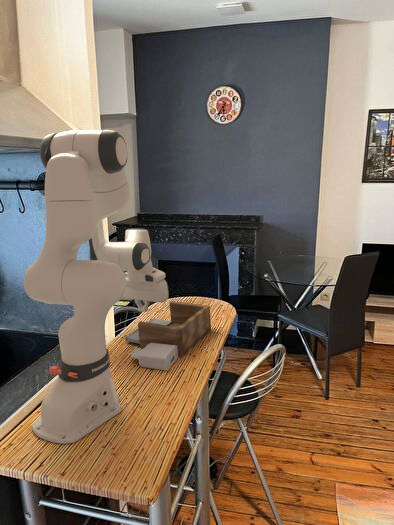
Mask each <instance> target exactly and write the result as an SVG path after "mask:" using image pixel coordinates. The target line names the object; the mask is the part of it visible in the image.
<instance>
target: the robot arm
mask: <svg viewBox="0 0 394 525" xmlns="http://www.w3.org/2000/svg"><path fill="white" fill-rule="evenodd" d="M39 157H40V161H41V163H42V165H43V167H44V168H45V179H44V205H45V237H44V243H43V246H42V248H41V251H40V253H39V255H38V256H37V258H36V259H35V261H34V262H33V263H31V264H30V265H29V266H28V267H27V269H26V270H25V273H24V277H23V289H24V291H25V294H26V295H27V296H28V297H29V298H30V299H32V300H34V301H36V302H37V301H38V302H41V303H43V304H49V305H64V306H66V305H68V306H69V305H70V306H72V307H73V316H72V317H70V318H68V319H66V320H65V321H64V322H63V323H62V324H61V326H60V328H59V330H58V334H57V335H58V340H59V341H58V342H59V347H60V348H59V349H60V354H61V358H60V362H59V366H55V365H52V366H50V368H49V371H48V372H49V374H50V375H54V376H58V377H57V378H56V379H55V381H54V383H53V384H52V386H51V387H50V389H49V391H48V393H46V394H45V395H46V396H45V397H44V398H43V400H42V402H41V405H40V416H39V417H38V418H37V419H36V420H35V421H34V422H33V423H32V425H31V429H32V432H33V434H34V435H36V436H37V437H38V438H41V439H43V440H45V441H48V442H50V443H51V442H52V443H55V444H56V443H57V444H65V445H66V444H73V443H76V442H79V440H81V439H82V438H84V437H85V436H86V435H88V434H90V433H91V432H93V431H94V430H96V429H97V428H99V427H100V426H101V425H103V424H104V423H106V422H107V421H109V420H111V419H112V418H113V417H115V416H116V415H117V414H119V413H120V412H122V406H121V403H120V396H119V393H118V392H117V389H116V387H115V383H114V379H113V376H112V373H111V372H112V371H111V369H110V366H111V358H110V357H111V356H110V353H109V349H107V342H106V320H107V316H108V314H109V311H110V310H111V308H112V307H114V306H115V305H116V304H117V303H119V301H120V300H121V299H128V300H129V299H131V300H134V303H135V304H136V306H137V308H138V310H137V311H138V312H142V313H143V312H144V313H146V312H148V310H149V308H148V307H149V305H150V303H151V302H154V303H164V302H166V301H167V300H168V298H169V286H168V282H167V281H166V279H165V278H166V272H164V271H162V270H159V269H157V267H156V268H155V267H154V266H153V263H152V259H151V256H152V247H151V240H150V235H149V234H150V233H149V230H148V229H146V228H143V227H142V228H137V227H136V228H135V227H134V228H133V227H132V228H127V229H126V230H125V234H124V235H125V236H124V241H109V240H106V239H105V232H104V231H105V230H104V224H103V220H104V219H106V218H108V217H110V216H113V215H115V214H117V213H119V212H120V211H122V209H124V208H125V207H126V205H127V204H128V202H129V200H130V198H131V197H130V196H131V190H130V185H129V180H128V177H127V174H126V171H125V167H126V165H127V162H128V147H127V143H126V140H125V139H124V137H123V136H122V135H121V134H120V133H119V132H118V131H116V130H112V129H103V130H97V129H96V130H93V129H92V130H91V129H86V130H85V129H84V130H83V129H74V130H68V131H63V132H59V131H57V132H53V133H50V134H47V135H45V136H44V137H43V139H42V141H41V143H40V146H39ZM87 242H88V245H89V259H78V252H79V249H80V247H81V246H82V245H84V244H85V243H87ZM141 301H143V302H141ZM142 303H143V304H144V305H143V304H142Z"/></svg>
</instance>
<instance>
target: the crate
mask: <svg viewBox="0 0 394 525" xmlns="http://www.w3.org/2000/svg"><path fill="white" fill-rule="evenodd" d="M169 312H170V313H169V314H170V321H172V325H170V326H166V325H160V324H154V323H148V322H149V321H147V322H146V321H139V322H137V329H138V331H139V341H140V344H139V348H140V349H144V348H145V347H146V346H147V345H148V344H150V343H159V344H168V345H177V347H178V358H184V357H185V355H186V354H187V353H189V351H191V350H192V349H193V348H194V347H195V346H196V345H197V344H199V342H200V341H202V339H204V338H205V337H206V336H207V335H208V334H209V333H210V332H211V331H212V323H211V320H212V319H211V306H210V305H205V304H197V303H190V302H189V303H188V302H183V301H175V300H171V301H170V302H169Z"/></svg>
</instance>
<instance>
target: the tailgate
mask: <svg viewBox="0 0 394 525" xmlns="http://www.w3.org/2000/svg"><path fill="white" fill-rule="evenodd" d="M147 322H148V323H154V324H160V325H166V326H171V325H172V321H171V320H165V319H162V318H161V319H160V318H155V317H153V318H152V319H150V320H149V321H147ZM124 339H125V341H126V342H129V343H136V344H139V345H140V341H139V331H138V328H137V329H136V330H133V332H131V333H129V334H128V335H127V336H125V337H124Z"/></svg>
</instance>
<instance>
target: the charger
mask: <svg viewBox="0 0 394 525" xmlns="http://www.w3.org/2000/svg"><path fill="white" fill-rule="evenodd" d="M127 355H130V358H131V359H137V360H138V364H139V366H140V367H141V368H148V369H155V370H161V371H168V370H169V369H171V367H172V366H173V365H174V363H175V362H176V361H177V359H178V358H179V357H178V347H177V345H168V344H159V343H150V344H148V345H147V346H146V347H145V348H144V349H140V347H139V348H138V347H136V348H135V349H134V350H132V349H130V352H127Z"/></svg>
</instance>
